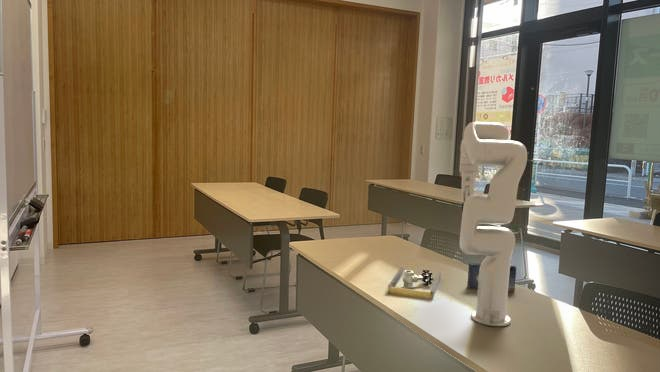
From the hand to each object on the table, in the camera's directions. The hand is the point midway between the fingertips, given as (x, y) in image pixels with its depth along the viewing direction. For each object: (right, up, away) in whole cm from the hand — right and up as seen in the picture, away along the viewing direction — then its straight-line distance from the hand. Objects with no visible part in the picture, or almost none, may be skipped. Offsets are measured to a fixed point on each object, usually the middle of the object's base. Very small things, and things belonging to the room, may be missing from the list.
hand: (465, 212), depth 206 cm
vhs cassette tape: (+8, -31, -7) cm, 33 cm away
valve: (-22, -30, -7) cm, 38 cm away
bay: (-22, -29, -7) cm, 37 cm away
